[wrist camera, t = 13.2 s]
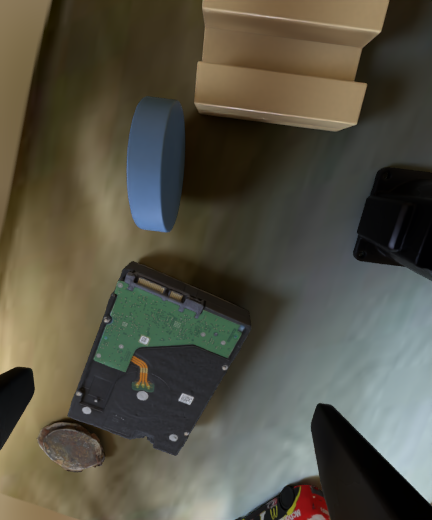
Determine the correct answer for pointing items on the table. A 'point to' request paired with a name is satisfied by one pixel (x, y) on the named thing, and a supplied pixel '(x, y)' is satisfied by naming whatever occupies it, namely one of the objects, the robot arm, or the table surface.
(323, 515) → the race car
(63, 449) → the decorative disc
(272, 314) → the table surface
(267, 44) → the rack
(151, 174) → the blue disc
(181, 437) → the disk drive
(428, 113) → the table surface
